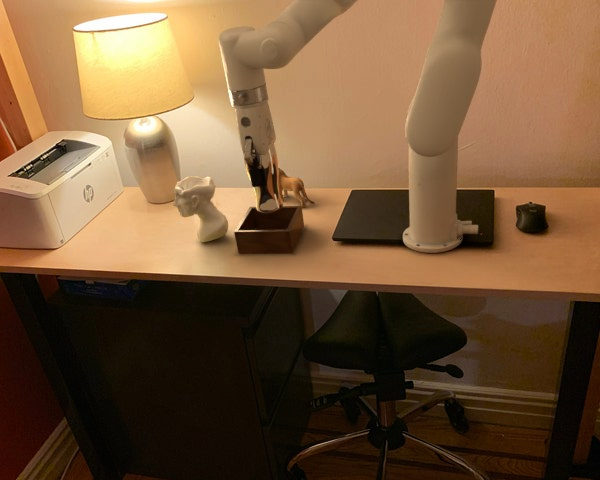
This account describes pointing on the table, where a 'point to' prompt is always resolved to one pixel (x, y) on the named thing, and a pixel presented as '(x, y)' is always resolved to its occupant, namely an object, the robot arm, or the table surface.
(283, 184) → the lion figurine
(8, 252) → the table surface
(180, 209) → the white sculpted bust
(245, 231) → the tub
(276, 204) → the beer glass
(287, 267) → the table surface
